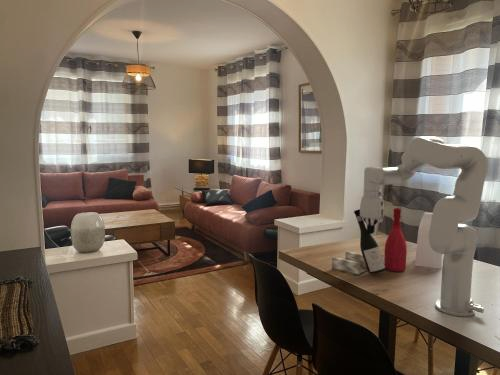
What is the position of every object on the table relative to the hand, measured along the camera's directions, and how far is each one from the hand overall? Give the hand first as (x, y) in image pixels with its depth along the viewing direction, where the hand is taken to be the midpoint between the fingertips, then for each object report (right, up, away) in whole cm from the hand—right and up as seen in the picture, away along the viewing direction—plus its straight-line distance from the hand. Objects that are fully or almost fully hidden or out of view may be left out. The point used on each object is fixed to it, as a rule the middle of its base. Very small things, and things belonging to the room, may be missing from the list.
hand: (370, 233), depth 173 cm
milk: (+34, -18, +16) cm, 42 cm away
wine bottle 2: (+14, -19, +8) cm, 25 cm away
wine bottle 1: (+3, -18, -1) cm, 18 cm away
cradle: (-6, -18, +8) cm, 21 cm away
